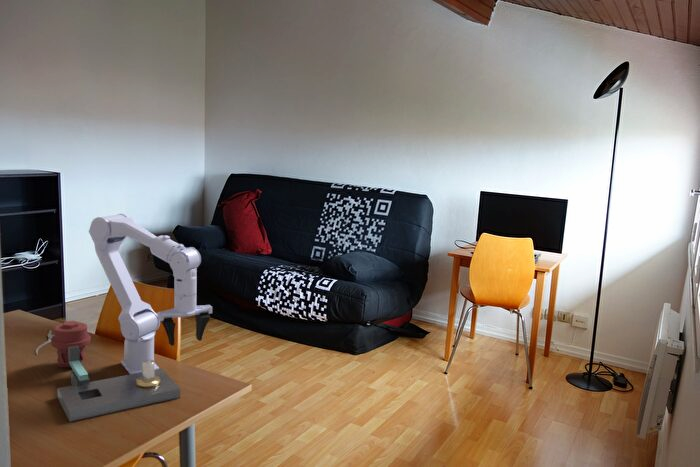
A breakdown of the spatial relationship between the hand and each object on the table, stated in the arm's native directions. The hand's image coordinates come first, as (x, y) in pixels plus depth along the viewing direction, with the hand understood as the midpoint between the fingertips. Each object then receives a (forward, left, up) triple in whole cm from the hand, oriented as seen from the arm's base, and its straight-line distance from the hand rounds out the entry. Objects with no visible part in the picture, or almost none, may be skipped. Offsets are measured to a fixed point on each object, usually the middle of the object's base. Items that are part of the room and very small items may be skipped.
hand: (185, 341), depth 161 cm
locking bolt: (-9, -25, -7) cm, 28 cm away
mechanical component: (-22, -24, -11) cm, 35 cm away
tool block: (0, -18, -10) cm, 21 cm away
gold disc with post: (+4, -11, -10) cm, 16 cm away
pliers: (-42, -26, -11) cm, 51 cm away
